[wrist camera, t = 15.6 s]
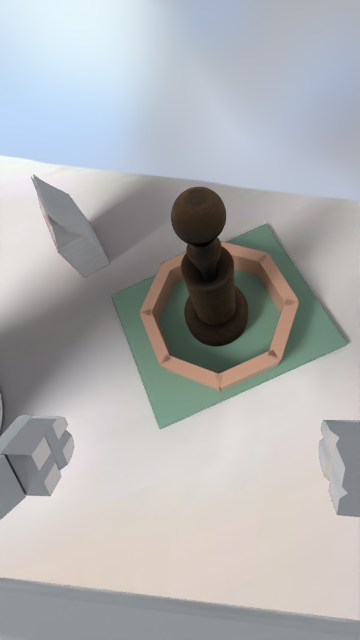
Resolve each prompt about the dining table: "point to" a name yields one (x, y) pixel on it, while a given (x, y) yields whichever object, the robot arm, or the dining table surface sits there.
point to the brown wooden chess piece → (208, 269)
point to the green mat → (191, 397)
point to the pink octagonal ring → (287, 307)
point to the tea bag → (70, 229)
